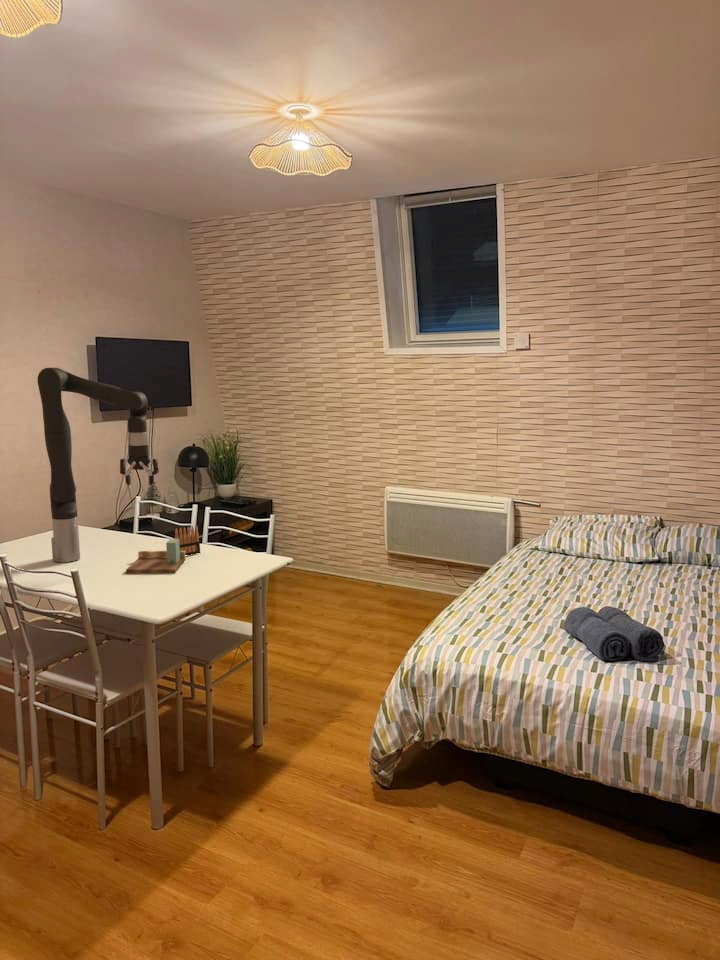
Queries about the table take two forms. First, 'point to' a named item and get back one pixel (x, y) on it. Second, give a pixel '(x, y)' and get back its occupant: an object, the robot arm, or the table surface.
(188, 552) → the ammunition clip
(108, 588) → the table surface
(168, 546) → the green rectangular block
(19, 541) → the table surface
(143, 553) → the walnut board
